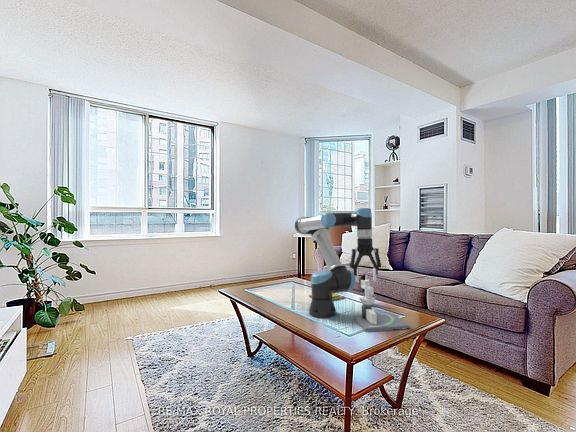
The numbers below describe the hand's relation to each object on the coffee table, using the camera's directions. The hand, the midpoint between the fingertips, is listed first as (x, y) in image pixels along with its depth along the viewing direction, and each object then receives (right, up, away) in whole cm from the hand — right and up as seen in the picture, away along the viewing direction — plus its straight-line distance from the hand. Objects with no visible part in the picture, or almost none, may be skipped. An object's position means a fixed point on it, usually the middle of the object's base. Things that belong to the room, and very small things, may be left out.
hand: (365, 281), depth 155 cm
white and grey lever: (+1, -19, -5) cm, 19 cm away
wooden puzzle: (-14, -22, +48) cm, 55 cm away
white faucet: (+9, -21, +30) cm, 37 cm away
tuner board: (+6, -20, -5) cm, 22 cm away
